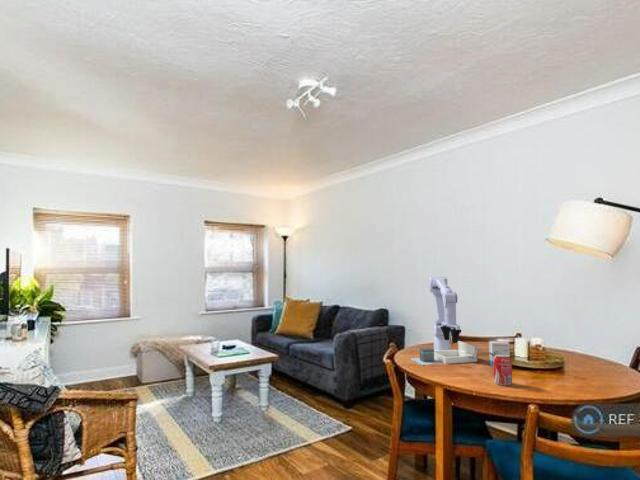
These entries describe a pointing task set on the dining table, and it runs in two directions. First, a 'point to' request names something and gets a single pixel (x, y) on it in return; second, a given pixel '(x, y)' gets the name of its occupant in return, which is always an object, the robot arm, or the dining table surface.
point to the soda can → (502, 369)
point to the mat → (424, 362)
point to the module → (426, 354)
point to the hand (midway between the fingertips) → (450, 341)
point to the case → (457, 354)
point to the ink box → (497, 349)
